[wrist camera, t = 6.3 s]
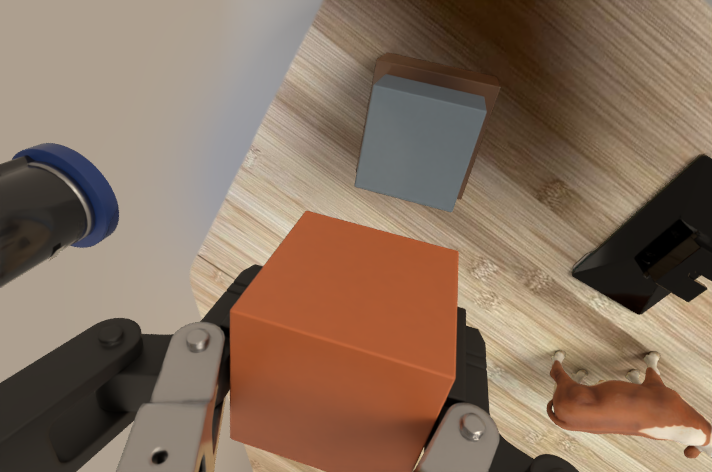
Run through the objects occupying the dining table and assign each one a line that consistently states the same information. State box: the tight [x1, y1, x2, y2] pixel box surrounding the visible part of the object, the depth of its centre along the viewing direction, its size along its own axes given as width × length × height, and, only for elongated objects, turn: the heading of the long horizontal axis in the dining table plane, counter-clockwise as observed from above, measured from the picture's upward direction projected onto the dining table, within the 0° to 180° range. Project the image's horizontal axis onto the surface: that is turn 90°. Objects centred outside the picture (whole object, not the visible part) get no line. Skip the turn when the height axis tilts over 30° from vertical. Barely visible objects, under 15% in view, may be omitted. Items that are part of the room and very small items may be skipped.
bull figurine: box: [547, 351, 712, 458], centre depth 34 cm, size 4×13×8 cm, turn 98°
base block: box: [356, 53, 500, 200], centre depth 29 cm, size 8×8×4 cm
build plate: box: [572, 154, 712, 315], centre depth 29 cm, size 12×7×5 cm, turn 153°
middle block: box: [355, 74, 487, 212], centre depth 26 cm, size 6×6×4 cm
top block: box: [230, 211, 459, 472], centre depth 12 cm, size 5×5×5 cm
